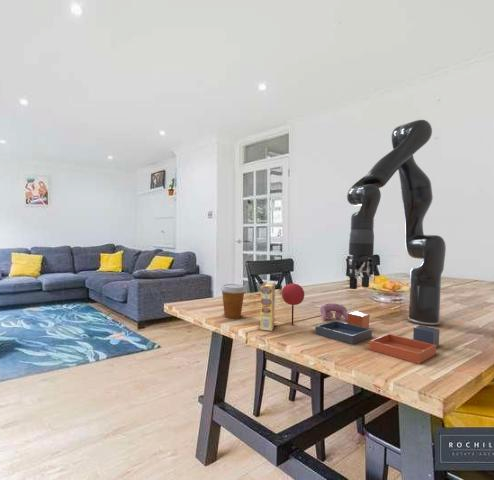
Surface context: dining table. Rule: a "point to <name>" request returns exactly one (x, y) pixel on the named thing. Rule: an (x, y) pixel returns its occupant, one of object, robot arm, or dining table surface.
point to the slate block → (426, 335)
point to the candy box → (267, 306)
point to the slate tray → (343, 332)
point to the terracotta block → (358, 319)
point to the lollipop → (293, 295)
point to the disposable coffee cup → (233, 299)
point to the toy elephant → (337, 308)
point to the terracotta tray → (403, 348)
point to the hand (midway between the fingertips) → (359, 288)
